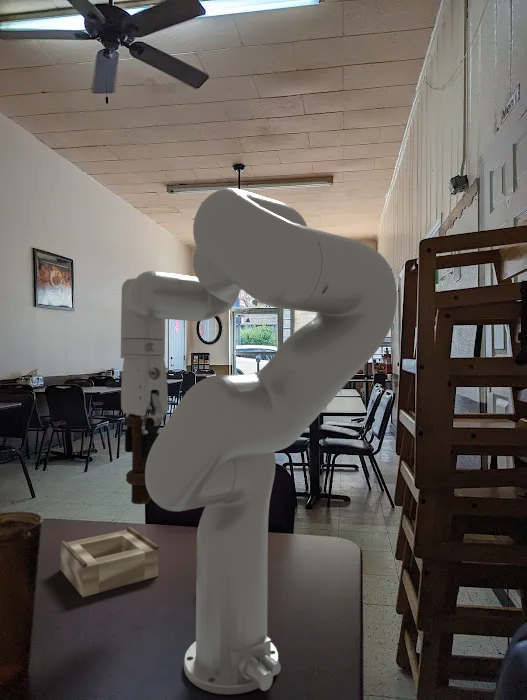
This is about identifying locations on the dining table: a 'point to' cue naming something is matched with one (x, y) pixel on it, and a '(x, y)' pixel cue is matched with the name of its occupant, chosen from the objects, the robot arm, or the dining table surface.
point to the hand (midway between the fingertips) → (141, 453)
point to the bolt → (137, 463)
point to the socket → (109, 561)
